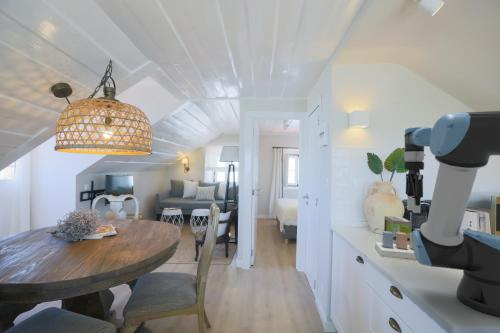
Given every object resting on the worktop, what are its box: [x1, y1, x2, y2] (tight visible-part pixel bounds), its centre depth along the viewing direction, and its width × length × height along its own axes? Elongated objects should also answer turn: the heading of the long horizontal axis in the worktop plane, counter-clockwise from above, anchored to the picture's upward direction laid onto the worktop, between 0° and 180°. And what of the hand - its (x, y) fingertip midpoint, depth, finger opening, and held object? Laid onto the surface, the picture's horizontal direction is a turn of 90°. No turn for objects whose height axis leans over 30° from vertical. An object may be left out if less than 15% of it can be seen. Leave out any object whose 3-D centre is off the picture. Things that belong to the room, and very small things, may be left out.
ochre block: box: [410, 232, 413, 249], centre depth 126 cm, size 4×4×7 cm
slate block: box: [381, 230, 393, 247], centre depth 129 cm, size 4×4×7 cm
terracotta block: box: [396, 232, 407, 248], centre depth 128 cm, size 4×4×7 cm
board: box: [374, 241, 416, 260], centre depth 128 cm, size 14×22×3 cm, turn 75°
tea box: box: [383, 215, 412, 245], centre depth 147 cm, size 15×10×15 cm, turn 168°
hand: (413, 211), depth 112 cm, fingers open, 6 cm apart
